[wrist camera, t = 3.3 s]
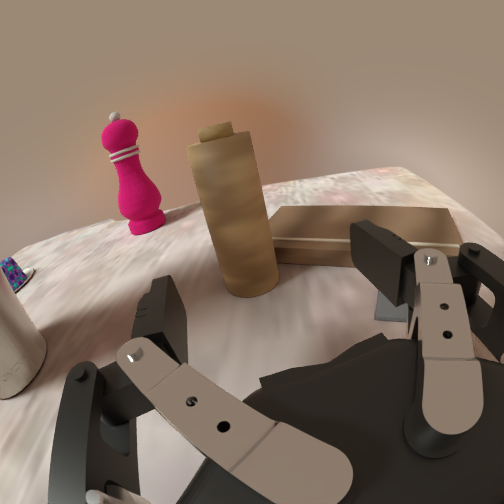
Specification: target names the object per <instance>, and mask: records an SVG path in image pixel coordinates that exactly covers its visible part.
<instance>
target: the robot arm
mask: <svg viewBox="0 0 504 504" xmlns="http://www.w3.org/2000/svg"><path fill="white" fill-rule="evenodd" d="M350 246H351V258H352V261H353V264H354V266H355V267H356V268H357V269H358V270H359V271H360V272H361V273H362V274H363V275H364V276H365V277H366V278H367V279H368V280H369V281H370V282H371V283H372V284H373V285H374V286H375V287H376V288H377V289H378V290H379V291H380V292H381V293H382V294H383V295H384V296H385V297H386V298H387V299H388V300H389V301H390V302H391V303H392V304H393V305H394V306H395V307H398V306H401V305H403V304H405V303H407V304H408V306H407V318H406V339H392V340H388V339H387V338H386V337H385V336H384V334H383V333H380V334H378V335H375V336H373V337H371V338H369V339H366V340H364V341H362V342H359V343H357V344H355V345H354V346H352V347H351V348H349V349H348V350H346V351H345V352H344V353H342V354H341V355H339V356H338V357H336V358H335V359H333V360H332V361H330V362H328V363H324V364H318V365H311V366H304V367H296V368H290V369H287V370H284V371H281V372H278V373H275V374H272V375H268V376H265V377H262V378H259V379H260V383H261V386H262V388H260V389H258V390H256V391H255V392H253V393H252V394H250V395H249V396H248V397H246V398H245V399H244V400H243V401H240V400H238V399H237V398H235V397H234V396H232V395H231V394H229V393H228V392H226V391H225V390H223V389H222V388H220V387H219V386H217V385H216V384H215V383H213V382H212V381H210V380H209V379H207V378H206V377H205V376H203V375H202V374H200V373H199V372H198V371H196V370H195V369H194V368H192V367H191V366H190V365H188V348H187V317H186V312H185V308H184V305H183V303H182V300H181V298H180V296H179V293H178V291H177V289H176V286H175V284H174V282H173V279H172V277H171V276H170V275H167V276H164V277H160V278H157V279H153V281H152V286H151V291H150V293H146V294H144V296H143V297H142V298H141V300H140V301H139V303H138V307H137V312H136V316H135V318H136V319H135V321H134V326H133V330H132V335H131V340H129V341H128V342H126V343H125V344H123V345H122V346H121V348H120V349H119V350H118V352H117V355H116V361H115V362H113V363H111V364H109V365H107V366H105V367H103V368H100V369H98V368H97V367H96V365H95V364H94V363H92V362H89V361H86V362H81V363H79V364H77V365H76V366H75V367H73V368H72V369H71V370H70V372H69V373H68V375H67V378H66V381H65V385H64V389H63V393H62V398H61V402H60V407H59V412H58V417H57V422H56V428H55V433H54V440H53V447H52V454H51V463H50V473H49V487H48V504H151V503H150V502H149V501H148V500H147V499H145V498H143V497H141V495H140V485H139V473H138V458H137V428H136V417H138V416H140V415H142V414H145V413H147V412H149V411H151V410H153V409H156V410H157V412H158V413H159V414H160V415H161V416H162V417H163V418H164V419H165V420H166V421H167V422H168V423H169V424H170V425H171V426H172V427H173V428H174V429H175V430H176V431H177V432H178V433H180V434H181V435H182V436H183V437H184V438H185V439H186V440H187V441H188V442H189V443H190V444H191V445H192V446H193V447H195V448H196V449H197V450H198V451H199V452H200V453H201V454H203V455H204V456H205V457H206V458H205V460H204V461H203V463H202V465H201V466H200V468H199V469H198V471H197V473H196V474H195V476H194V477H193V479H192V480H191V482H190V483H189V485H188V486H187V488H186V489H185V491H184V493H183V494H182V496H181V497H180V498H179V500H178V501H177V503H176V504H504V261H503V260H501V259H500V258H499V257H497V256H496V255H494V254H493V253H491V252H490V251H489V250H487V249H486V248H484V247H483V246H481V245H479V244H476V243H464V244H462V245H461V246H460V248H459V254H458V256H453V257H446V255H445V254H444V253H442V252H441V251H439V250H436V249H431V248H425V249H420V250H419V249H417V248H416V247H414V246H413V245H411V244H410V243H408V242H407V241H405V240H404V239H402V238H401V237H399V236H398V235H396V234H395V233H393V232H392V231H390V230H389V229H385V228H382V227H379V226H377V225H375V224H374V223H372V222H370V221H369V220H367V219H365V220H361V221H358V222H354V223H351V225H350ZM481 283H483V284H484V285H485V286H486V287H487V288H489V289H490V290H491V291H492V292H493V294H494V296H495V305H494V308H492V307H491V306H490V305H489V304H487V303H486V302H485V301H484V300H483V299H482V298H481V297H480V296H479V295H478V293H479V290H480V286H481ZM470 329H471V330H470ZM471 331H472V332H473V333H474V334H475V335H476V336H477V337H478V338H479V339H480V340H481V342H482V343H483V344H484V345H485V346H486V347H487V348H488V349H489V351H490V352H491V353H492V354H493V355H494V356H495V358H496V359H497V360H498V361H499V362H500V363H498V362H494V361H490V360H486V359H482V358H478V357H475V356H474V350H473V342H472V336H471ZM46 350H47V347H46V342H45V339H44V338H43V337H42V335H41V334H40V332H39V331H38V329H37V328H36V327H35V325H34V324H33V322H32V321H31V319H30V317H29V316H28V314H27V313H26V311H25V309H24V308H23V306H22V304H21V303H20V301H19V299H18V298H17V296H16V294H15V293H14V291H13V289H12V287H11V285H10V284H9V282H8V280H7V278H6V276H5V274H4V272H3V270H2V268H1V266H0V399H5V398H9V397H11V396H13V395H15V394H17V393H18V392H20V391H21V390H22V389H23V388H25V387H26V386H27V385H28V384H29V383H30V381H31V380H32V379H33V378H34V377H35V375H36V374H37V372H38V371H39V369H40V367H41V365H42V363H43V361H44V358H45V355H46Z"/></svg>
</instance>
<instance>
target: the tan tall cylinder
mask: <svg viewBox="0 0 504 504" xmlns="http://www.w3.org/2000/svg"><path fill="white" fill-rule="evenodd" d="M198 134H199V138H200V142H198V143H196V144H193V145H190V146H187V147H186V151H187V155H188V158H189V162H190V166H191V169H192V173H193V176H194V180H195V184H196V187H197V191H198V194H199V197H200V201H201V205H202V208H203V212H204V215H205V218H206V222H207V225H208V229H209V232H210V235H211V239H212V242H213V245H214V249H215V252H216V255H217V258H218V262H219V265H220V268H221V271H222V274H223V277H224V281H225V284H226V287H227V290H228V291H229V293H231V294H232V295H234V296H237V297H244V298H246V297H255V296H259V295H262V294H264V293H266V292H268V291H270V290H271V289H273V288H274V287H275V286H276V285H277V283H278V281H279V271H278V266H277V261H276V256H275V251H274V245H273V240H272V235H271V231H270V226H269V221H268V216H267V211H266V206H265V201H264V196H263V192H262V187H261V182H260V178H259V173H258V168H257V164H256V159H255V155H254V150H253V145H252V141H251V137H250V132H249V131H246V132H239V133H233V128H232V124H231V122H226V123H222V124H218V125H214V126H210V127H207V128H202V129H199V130H198Z"/></svg>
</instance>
